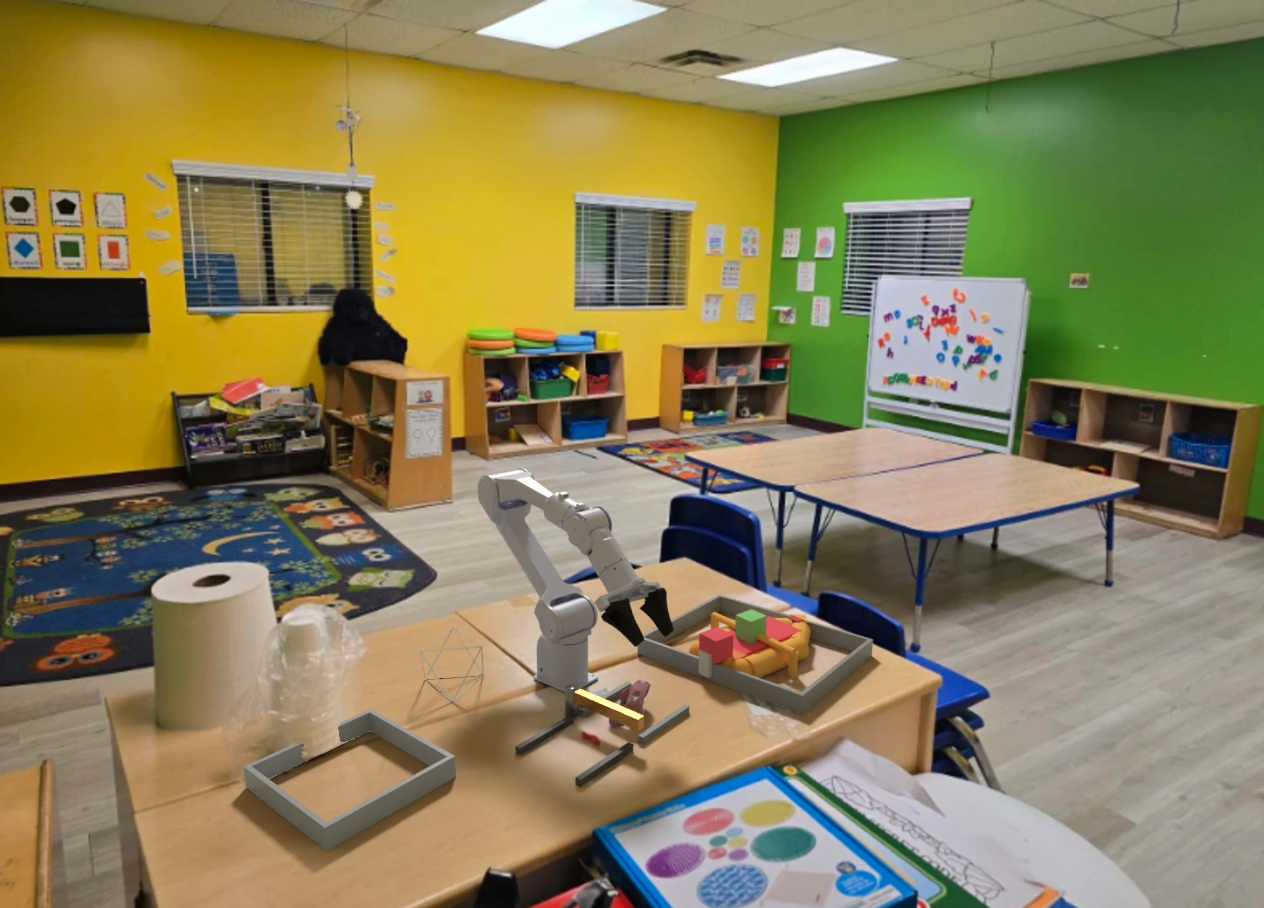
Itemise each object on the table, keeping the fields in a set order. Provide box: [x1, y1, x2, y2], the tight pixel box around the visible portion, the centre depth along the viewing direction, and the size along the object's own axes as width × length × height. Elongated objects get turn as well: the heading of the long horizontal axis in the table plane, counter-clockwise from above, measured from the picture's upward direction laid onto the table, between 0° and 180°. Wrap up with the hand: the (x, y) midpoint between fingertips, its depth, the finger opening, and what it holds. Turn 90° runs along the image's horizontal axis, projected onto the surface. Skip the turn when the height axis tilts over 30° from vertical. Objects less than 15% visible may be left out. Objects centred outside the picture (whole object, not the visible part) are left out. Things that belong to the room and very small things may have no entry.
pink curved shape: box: [608, 678, 652, 728], centre depth 145 cm, size 10×5×7 cm, turn 168°
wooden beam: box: [564, 684, 645, 732], centre depth 139 cm, size 16×2×5 cm, turn 51°
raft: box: [688, 609, 811, 679], centre depth 167 cm, size 23×30×9 cm
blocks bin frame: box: [637, 594, 874, 715], centre depth 168 cm, size 37×30×4 cm
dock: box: [514, 681, 690, 788], centre depth 140 cm, size 14×28×1 cm, turn 141°
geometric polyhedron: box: [419, 626, 485, 703], centre depth 154 cm, size 12×11×9 cm
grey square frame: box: [243, 708, 457, 852], centre depth 125 cm, size 22×22×4 cm
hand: (654, 638), depth 137 cm, fingers open, 7 cm apart
